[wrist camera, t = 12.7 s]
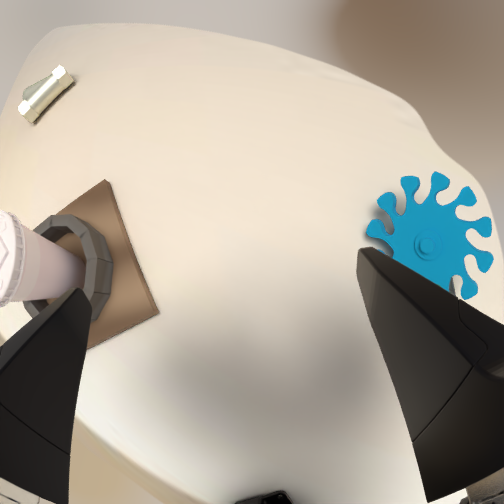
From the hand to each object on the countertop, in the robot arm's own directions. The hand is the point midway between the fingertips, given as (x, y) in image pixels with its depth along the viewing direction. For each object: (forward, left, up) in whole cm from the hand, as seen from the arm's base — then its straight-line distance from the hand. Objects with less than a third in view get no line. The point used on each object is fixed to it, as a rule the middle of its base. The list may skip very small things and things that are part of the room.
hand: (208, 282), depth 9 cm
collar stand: (+9, +13, -14) cm, 21 cm away
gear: (-4, -13, -14) cm, 19 cm away
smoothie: (+9, +13, -13) cm, 20 cm away
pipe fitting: (+36, +13, -14) cm, 41 cm away
